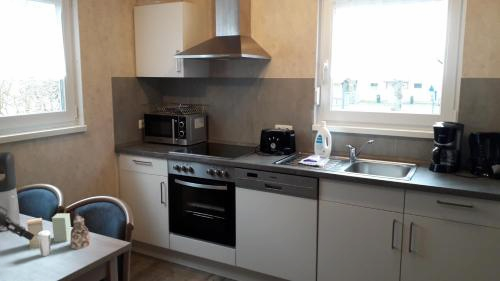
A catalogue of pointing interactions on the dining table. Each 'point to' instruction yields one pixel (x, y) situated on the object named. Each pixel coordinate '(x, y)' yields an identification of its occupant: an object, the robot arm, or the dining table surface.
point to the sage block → (61, 227)
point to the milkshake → (44, 242)
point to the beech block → (37, 227)
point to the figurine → (79, 234)
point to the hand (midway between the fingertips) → (27, 234)
